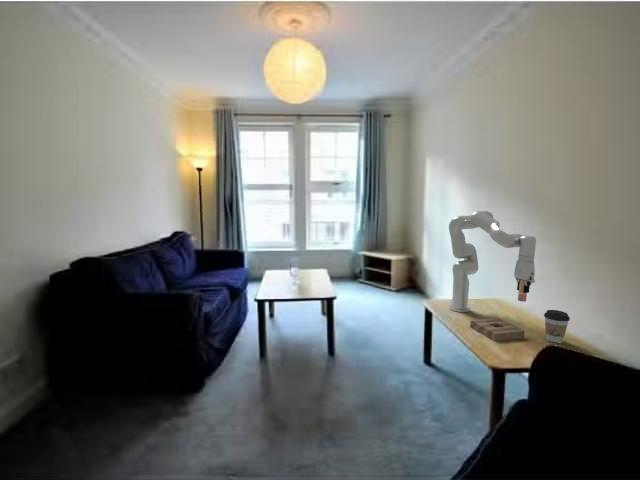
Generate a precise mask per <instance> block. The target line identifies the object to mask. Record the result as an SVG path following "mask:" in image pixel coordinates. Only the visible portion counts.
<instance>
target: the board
mask: <svg viewBox="0 0 640 480" xmlns="http://www.w3.org/2000/svg"><path fill="white" fill-rule="evenodd" d="M469 322H470V324H469V328H471V329H473V330H475V331H476V332H478V333H479V334H482V335H483V336H485V337H487V338H488V339H490V340H492V341H493V342H495V341H496V342H497V341H508V340H520V339H525V332H526V331H525V330H524V329H522V328H519V327H517V326H516V325H514V324H511V323H509V322H507V321H505V320H503V319H502V318H496V317H495V318H484V319H470V321H469Z"/></svg>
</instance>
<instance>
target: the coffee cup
mask: <svg viewBox="0 0 640 480" xmlns="http://www.w3.org/2000/svg"><path fill="white" fill-rule="evenodd" d="M543 317H544V322H545V323H544V325H545V338H546V339H547V340H546V341H547V342H549V341H551V342H550V343H552V342H562V343H563V342H564V340H565V335H566V331H567V327H568V324H569V321H570V320H571V317H570V316H569V314H568V312H565V311H563V310H557V309H548V310H546V312H544V314H543Z"/></svg>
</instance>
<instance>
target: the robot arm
mask: <svg viewBox="0 0 640 480" xmlns="http://www.w3.org/2000/svg"><path fill="white" fill-rule="evenodd" d="M500 226H501V224H500V222H499V221H498V220H496V219H495V218H494V215H493V212H490V211H488V210H477V211H475V212H473V213H472V214H471V215H458V216H454V217H453V218H452V219H451V220H450V221H449V223H448V231H449V235H450V242H451V249H452V255H453V257H454V258H455V259H459V260H458V261H456V262H454V264H453V265H452V275H453V276H452V277H453V278H452V279H453V280H452V281H453V283H452V300H450V301H449V302H450V303H451V305H449V308H448V309H449V310H451V311H453V312H459V313H469V312H470V311H471V308H470V307H469V305H468V304H469V291H470V280H469V277H468V276H470V275H474V274H476V273H477V272H478V271H479V260H478V254H477V252H478V251H477V249H476V247H475V245H474V244H472V243H470V242H466V236H465V234H464V232H463V230H474V229H476V228H477V229H478V228H479V229H481V230H483V231H485V233H487V234H489V237H491V239H492V240H493V241H494V242H495V243H497V244H498V245H499V246H502V247H504V248H507V249H511V248H512V249H513V248H519V251H518V256H517V257H518V259H517V260H516V262H515V268H514V273H513V275H514V276H513V277H514V278H515V280H516V283H517V285H516V286H517V287H516V290H517V291H519V284H520V279H522V280H525V285H524V290H523V292H524V293H527V294H529V293H530V288H531V285H532V284H534V283H536V280H535V274H536V273H535V272H536V271H535V270H536V266H535V254H536V246H537V238H536V236H532V235H526V234H525V235H524V234H522V233H521V234H520V233H510V234H509V233H507V232H505V231H503V230H502V229H500ZM460 259H461V260H460ZM462 259H463V260H462ZM527 281H528V283H527Z"/></svg>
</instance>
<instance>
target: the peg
mask: <svg viewBox="0 0 640 480" xmlns="http://www.w3.org/2000/svg"><path fill="white" fill-rule="evenodd" d="M527 283H528V281H527ZM524 285H525V280H522V279H520V284H519V290H518V295H517V301H519V302H526V301H527V295H528V293H524V292H523V290H524Z"/></svg>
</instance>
